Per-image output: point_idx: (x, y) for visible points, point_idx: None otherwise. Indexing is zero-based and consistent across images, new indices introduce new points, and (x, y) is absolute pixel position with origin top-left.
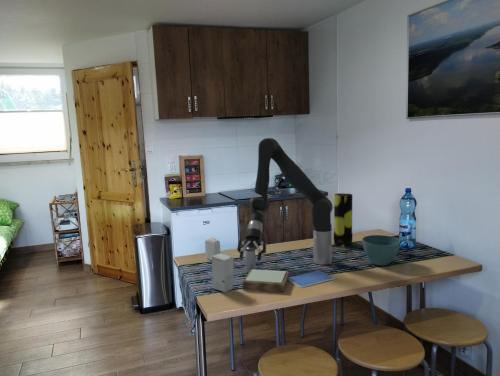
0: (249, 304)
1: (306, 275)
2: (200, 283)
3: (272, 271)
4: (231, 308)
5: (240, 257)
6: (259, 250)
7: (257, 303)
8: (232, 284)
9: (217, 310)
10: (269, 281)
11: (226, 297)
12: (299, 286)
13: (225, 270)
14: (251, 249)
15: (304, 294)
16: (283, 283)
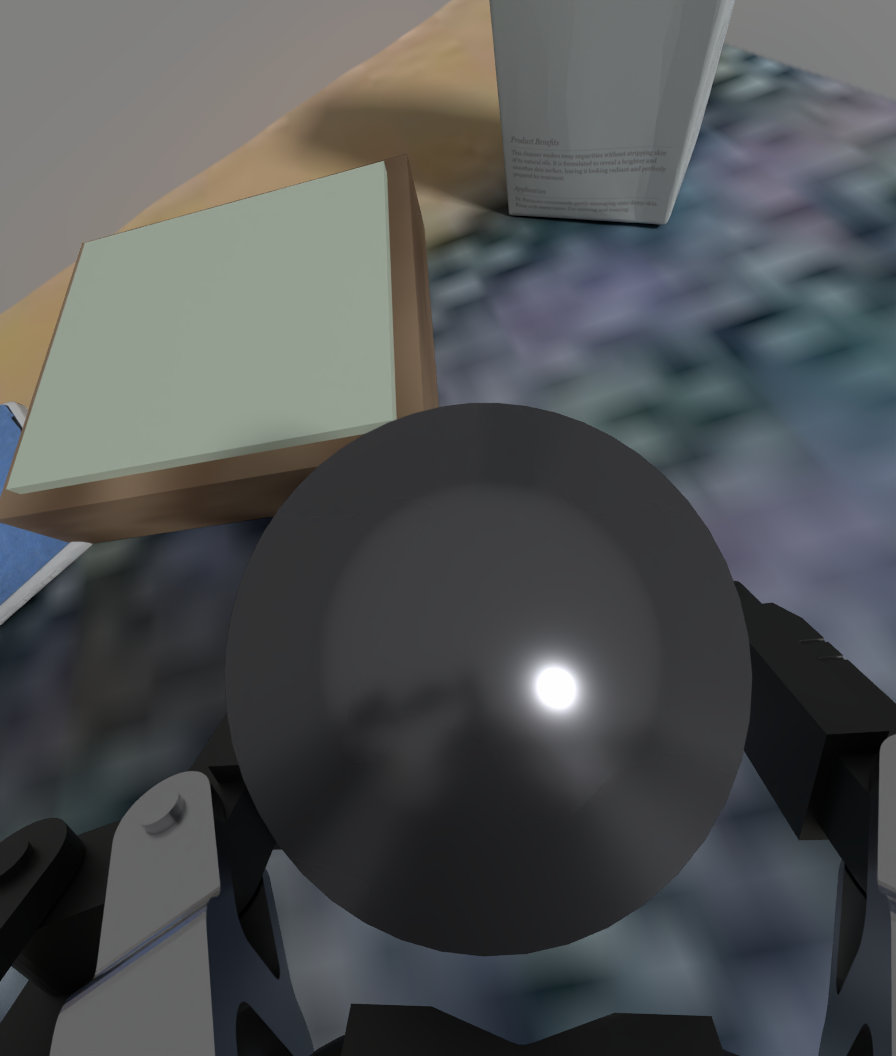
0: (323, 110)
1: None
2: (888, 173)
3: (147, 432)
4: (406, 45)
5: (755, 608)
6: (169, 839)
7: (282, 134)
8: (508, 166)
9: (472, 4)
10: (174, 222)
11: (492, 106)
12: (20, 406)
13: None
14: (345, 468)
15: (19, 322)
16: (79, 259)
